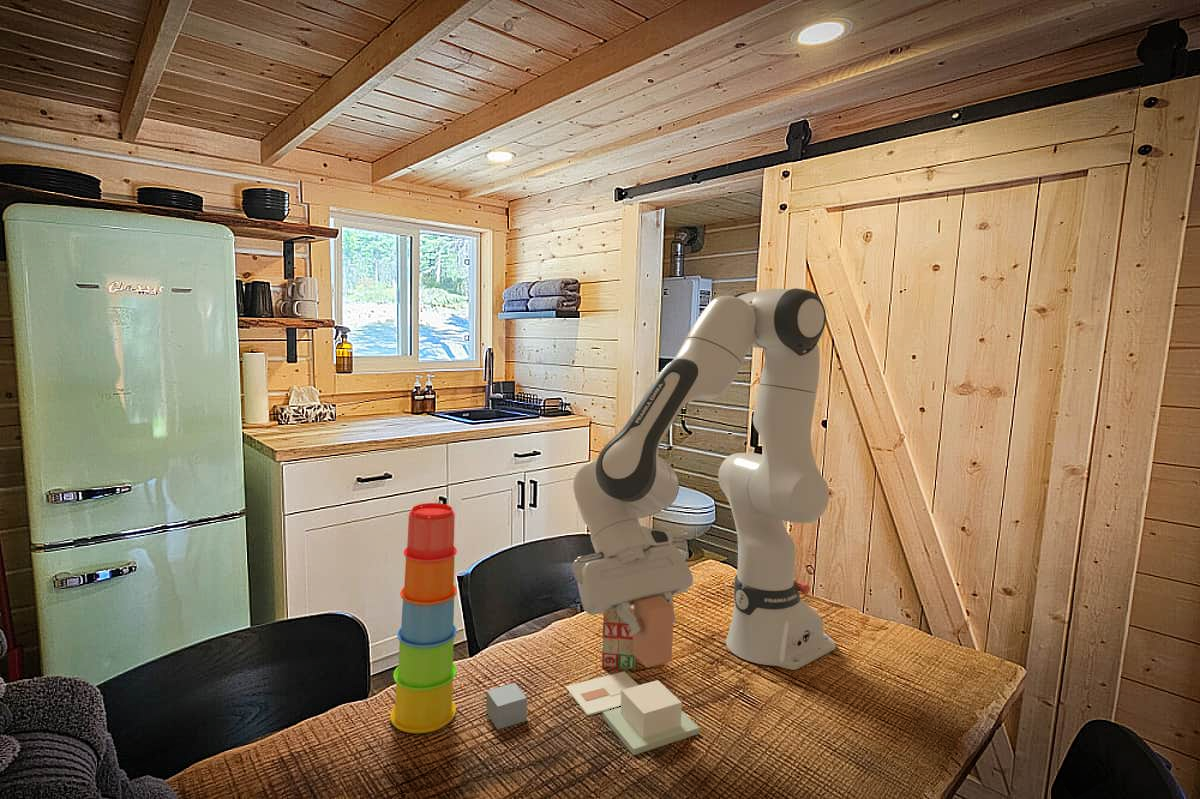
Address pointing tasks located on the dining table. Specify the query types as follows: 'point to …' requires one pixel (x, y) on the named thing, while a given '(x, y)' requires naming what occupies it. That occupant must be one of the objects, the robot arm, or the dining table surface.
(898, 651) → the dining table surface
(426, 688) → the stacking cups
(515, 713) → the slate brick
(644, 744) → the tower base
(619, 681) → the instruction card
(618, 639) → the stack of blocks
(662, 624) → the terracotta brick
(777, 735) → the dining table surface
